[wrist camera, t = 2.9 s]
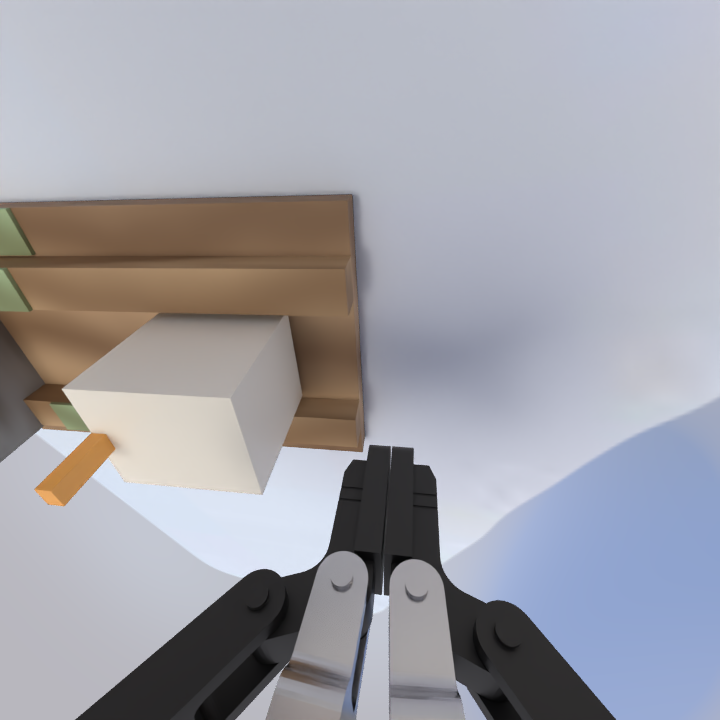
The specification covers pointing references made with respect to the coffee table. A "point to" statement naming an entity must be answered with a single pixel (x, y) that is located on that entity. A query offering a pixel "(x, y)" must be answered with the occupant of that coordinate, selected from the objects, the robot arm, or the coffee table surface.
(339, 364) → the gauge board
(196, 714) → the robot arm
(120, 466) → the white cube with stick
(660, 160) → the coffee table surface
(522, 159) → the coffee table surface
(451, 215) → the coffee table surface
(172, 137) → the coffee table surface
